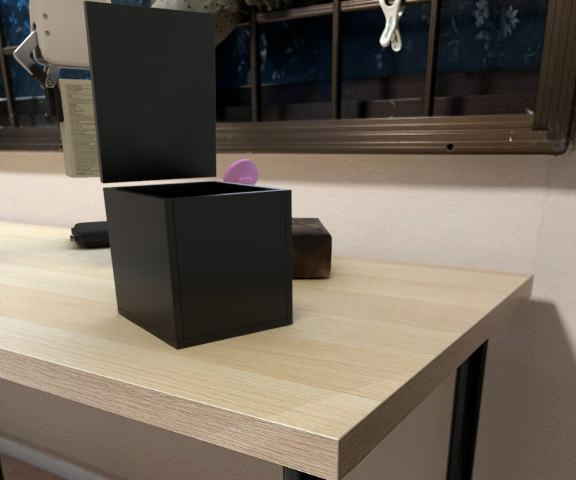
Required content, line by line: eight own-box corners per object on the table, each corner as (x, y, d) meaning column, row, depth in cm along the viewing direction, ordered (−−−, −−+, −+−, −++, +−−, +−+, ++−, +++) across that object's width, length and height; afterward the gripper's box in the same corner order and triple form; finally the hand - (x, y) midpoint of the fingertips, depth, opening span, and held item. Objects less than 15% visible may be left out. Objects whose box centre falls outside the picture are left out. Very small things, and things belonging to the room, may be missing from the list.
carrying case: (65, 238, 119) (73, 250, 107) (63, 222, 118) (71, 232, 106) (121, 234, 123) (134, 245, 111) (119, 218, 122) (133, 228, 109)
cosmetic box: (109, 175, 88) (100, 82, 84) (117, 177, 84) (109, 80, 80) (64, 176, 85) (52, 79, 81) (70, 178, 82) (59, 77, 77)
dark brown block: (320, 253, 102) (320, 212, 99) (333, 279, 84) (334, 231, 82) (272, 254, 101) (272, 213, 99) (275, 281, 84) (274, 232, 81)
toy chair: (231, 248, 107) (227, 157, 102) (271, 252, 103) (269, 158, 97) (199, 255, 101) (192, 159, 95) (240, 261, 96) (236, 160, 91)
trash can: (293, 324, 65) (291, 189, 60) (177, 349, 58) (164, 199, 53) (221, 294, 77) (215, 180, 72) (117, 313, 70) (102, 187, 65)
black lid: (214, 13, 64) (190, 15, 68) (85, 0, 57) (67, 4, 61) (216, 176, 71) (194, 170, 75) (103, 183, 64) (85, 175, 68)
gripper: (123, -19, 83) (135, 124, 90) (-14, -40, 74) (10, 122, 80) (145, -30, 77) (156, 123, 84) (-1, -54, 68) (24, 121, 75)
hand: (84, 121), depth 82 cm, fingers closed on cosmetic box, 6 cm apart
